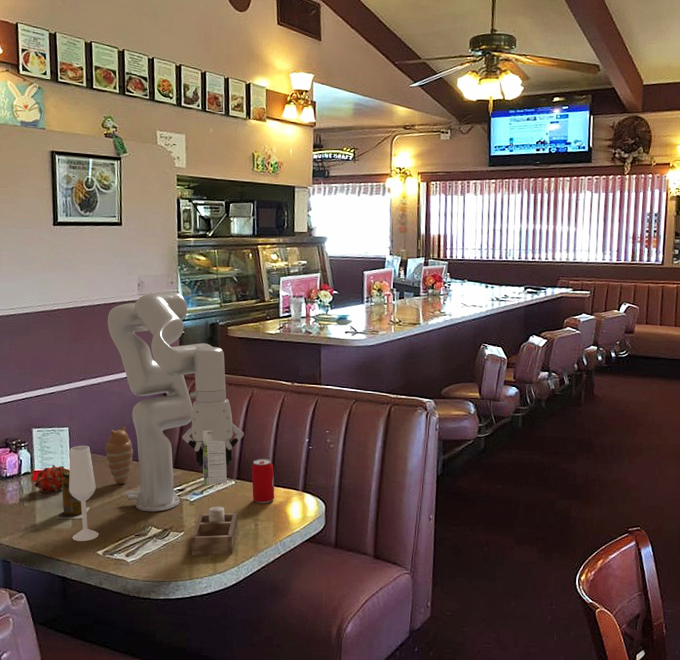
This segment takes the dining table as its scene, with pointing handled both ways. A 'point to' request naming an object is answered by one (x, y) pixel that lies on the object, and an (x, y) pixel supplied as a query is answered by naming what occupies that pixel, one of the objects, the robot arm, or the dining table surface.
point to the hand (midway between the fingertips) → (214, 463)
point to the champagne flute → (82, 485)
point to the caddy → (214, 533)
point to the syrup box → (213, 459)
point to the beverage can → (263, 481)
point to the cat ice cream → (119, 455)
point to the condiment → (69, 501)
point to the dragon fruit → (50, 479)
